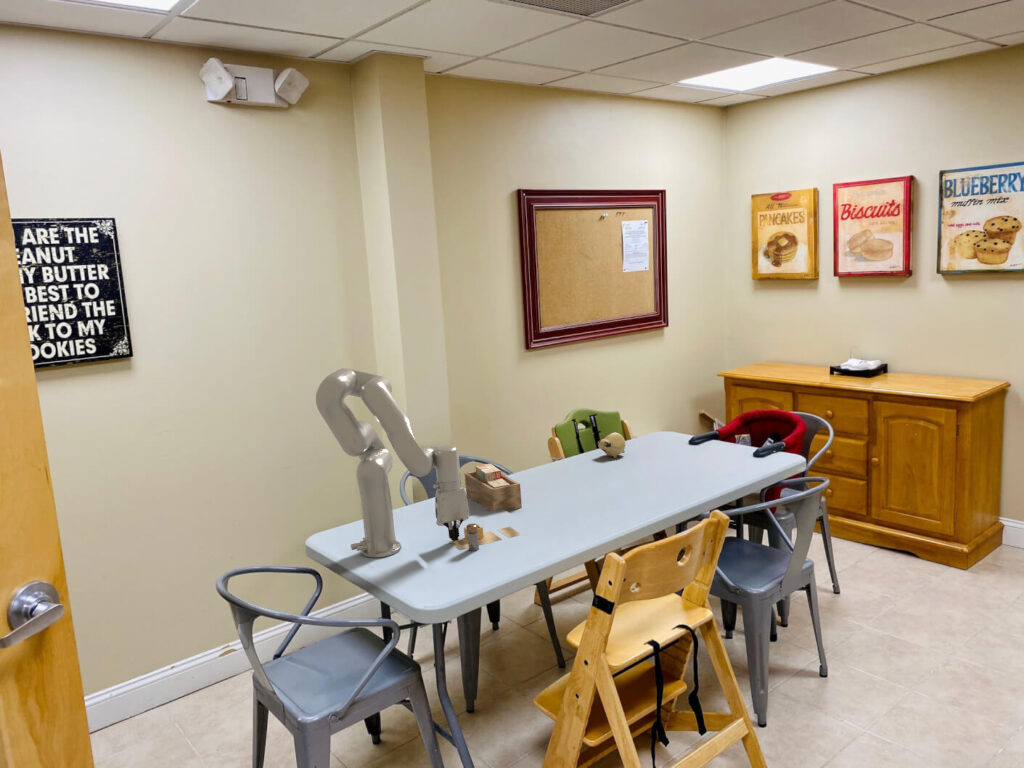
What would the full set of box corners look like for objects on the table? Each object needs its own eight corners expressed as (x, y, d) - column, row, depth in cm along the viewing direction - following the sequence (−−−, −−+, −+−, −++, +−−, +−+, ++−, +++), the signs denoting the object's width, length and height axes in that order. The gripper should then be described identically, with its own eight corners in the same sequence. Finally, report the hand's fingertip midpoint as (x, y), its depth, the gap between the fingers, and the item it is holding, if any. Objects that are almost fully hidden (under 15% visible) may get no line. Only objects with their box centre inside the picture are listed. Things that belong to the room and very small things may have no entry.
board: (459, 553, 237) (459, 550, 237) (449, 544, 245) (449, 541, 245) (522, 538, 247) (522, 534, 246) (510, 530, 255) (510, 526, 254)
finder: (469, 541, 244) (468, 530, 243) (464, 537, 247) (463, 526, 247) (483, 537, 246) (482, 526, 245) (478, 534, 249) (477, 523, 249)
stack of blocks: (511, 508, 276) (509, 476, 274) (495, 511, 274) (493, 479, 272) (493, 493, 296) (490, 462, 294) (477, 495, 294) (475, 465, 292)
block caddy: (494, 513, 272) (492, 489, 270) (466, 495, 295) (464, 473, 293) (521, 507, 276) (520, 483, 275) (492, 490, 299) (490, 468, 298)
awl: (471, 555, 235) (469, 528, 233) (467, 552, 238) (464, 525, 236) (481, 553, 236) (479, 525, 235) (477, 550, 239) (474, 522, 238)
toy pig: (594, 456, 337) (593, 433, 335) (616, 451, 342) (615, 428, 341) (608, 461, 328) (607, 437, 326) (630, 456, 334) (629, 432, 332)
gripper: (431, 492, 234) (436, 548, 237) (475, 483, 240) (480, 537, 243) (423, 486, 241) (428, 541, 244) (466, 477, 247) (471, 531, 250)
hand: (454, 539), depth 243 cm, fingers closed
